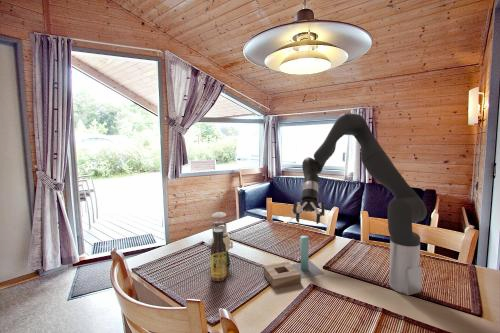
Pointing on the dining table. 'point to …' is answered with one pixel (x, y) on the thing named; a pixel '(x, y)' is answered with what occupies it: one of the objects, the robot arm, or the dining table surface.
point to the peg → (304, 253)
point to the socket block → (282, 275)
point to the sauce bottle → (218, 257)
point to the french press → (218, 222)
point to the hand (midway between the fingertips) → (307, 222)
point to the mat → (311, 272)
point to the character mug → (227, 242)
